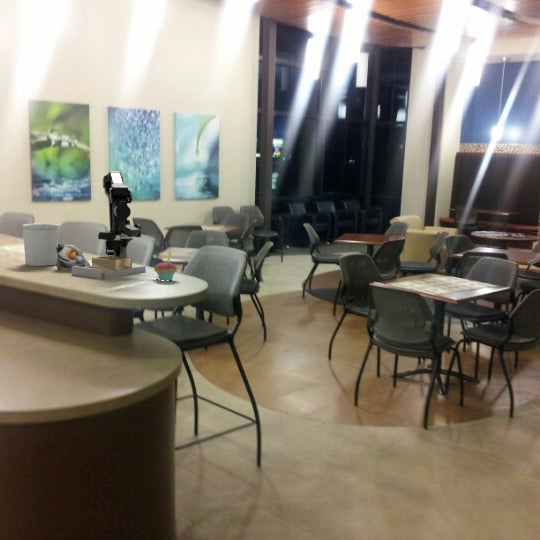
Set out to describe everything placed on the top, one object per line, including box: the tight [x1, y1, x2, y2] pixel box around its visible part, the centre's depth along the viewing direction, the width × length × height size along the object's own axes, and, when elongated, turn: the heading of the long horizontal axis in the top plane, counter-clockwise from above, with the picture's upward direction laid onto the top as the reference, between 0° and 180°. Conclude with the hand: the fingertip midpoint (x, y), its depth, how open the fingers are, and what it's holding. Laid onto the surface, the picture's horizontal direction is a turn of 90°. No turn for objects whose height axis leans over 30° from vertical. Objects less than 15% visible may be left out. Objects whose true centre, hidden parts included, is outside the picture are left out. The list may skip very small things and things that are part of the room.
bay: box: [71, 265, 147, 280], centre depth 233 cm, size 23×17×4 cm
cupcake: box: [153, 249, 178, 282], centre depth 227 cm, size 9×8×12 cm
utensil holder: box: [21, 223, 60, 267], centre depth 258 cm, size 15×15×18 cm
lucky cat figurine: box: [56, 243, 91, 271], centre depth 243 cm, size 15×12×14 cm
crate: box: [91, 246, 133, 272], centre depth 234 cm, size 11×12×10 cm
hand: (120, 255), depth 238 cm, fingers closed on crate, 2 cm apart
